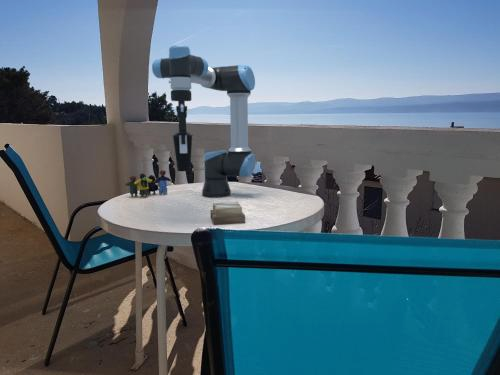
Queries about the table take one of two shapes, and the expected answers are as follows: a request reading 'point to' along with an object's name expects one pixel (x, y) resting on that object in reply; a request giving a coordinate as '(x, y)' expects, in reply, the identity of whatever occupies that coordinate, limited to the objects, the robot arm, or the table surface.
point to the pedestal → (227, 213)
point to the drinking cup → (183, 158)
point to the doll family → (148, 185)
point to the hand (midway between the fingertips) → (183, 152)
